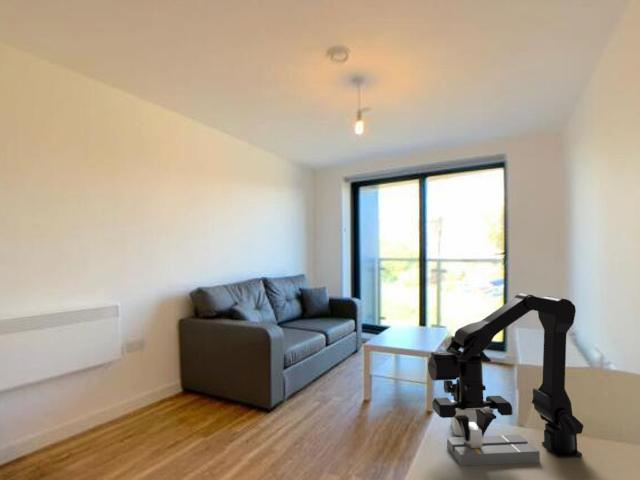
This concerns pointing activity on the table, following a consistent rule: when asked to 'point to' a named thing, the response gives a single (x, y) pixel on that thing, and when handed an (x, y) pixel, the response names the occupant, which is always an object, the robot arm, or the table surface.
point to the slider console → (494, 450)
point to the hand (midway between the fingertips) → (472, 440)
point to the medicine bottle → (455, 425)
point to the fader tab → (474, 436)
